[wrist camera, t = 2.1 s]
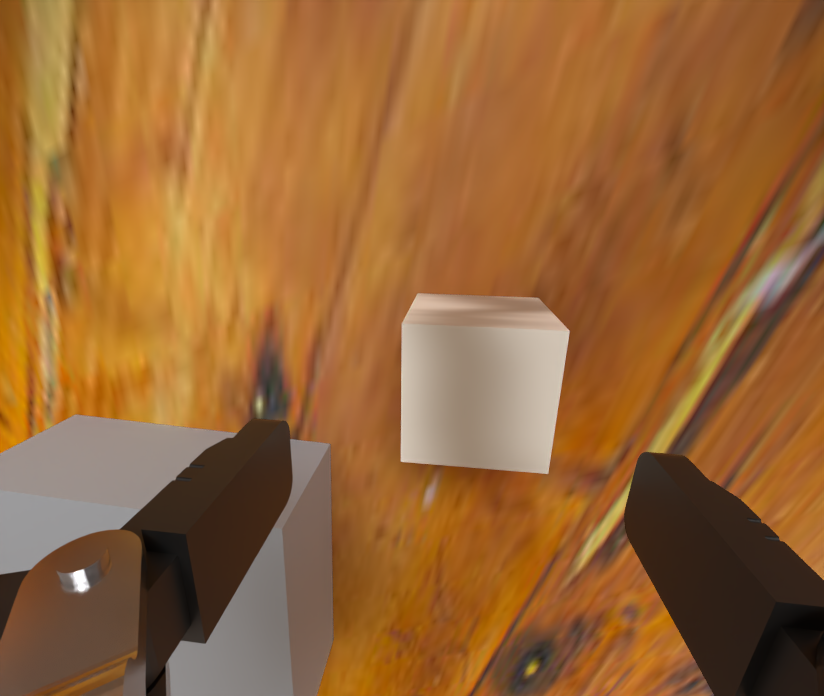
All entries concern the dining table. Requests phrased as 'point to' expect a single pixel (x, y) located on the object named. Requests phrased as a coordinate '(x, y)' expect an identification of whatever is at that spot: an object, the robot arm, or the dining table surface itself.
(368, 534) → the dining table surface
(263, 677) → the slate block
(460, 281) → the dining table surface
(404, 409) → the cream cube
